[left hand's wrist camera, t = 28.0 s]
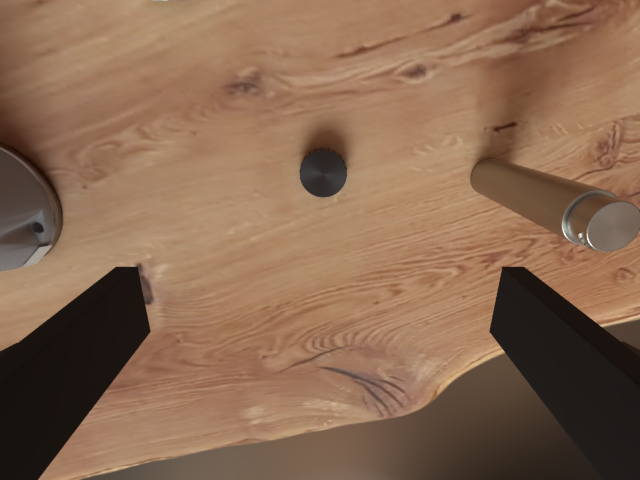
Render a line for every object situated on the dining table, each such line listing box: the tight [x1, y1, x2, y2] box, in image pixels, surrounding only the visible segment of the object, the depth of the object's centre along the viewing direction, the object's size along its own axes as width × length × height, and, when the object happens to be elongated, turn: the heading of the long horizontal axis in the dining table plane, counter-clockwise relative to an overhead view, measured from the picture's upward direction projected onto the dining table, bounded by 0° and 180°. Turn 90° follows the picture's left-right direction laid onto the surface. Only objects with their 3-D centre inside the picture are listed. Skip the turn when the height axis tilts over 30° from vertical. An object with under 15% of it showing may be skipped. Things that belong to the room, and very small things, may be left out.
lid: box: [300, 148, 347, 197], centre depth 39 cm, size 5×5×2 cm
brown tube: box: [470, 158, 640, 252], centre depth 31 cm, size 4×4×18 cm
